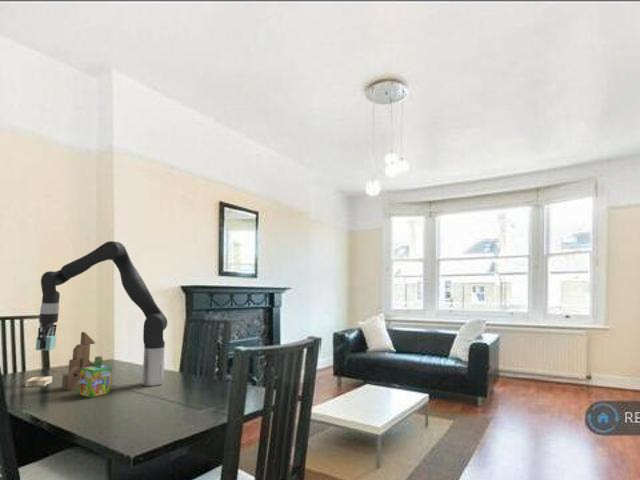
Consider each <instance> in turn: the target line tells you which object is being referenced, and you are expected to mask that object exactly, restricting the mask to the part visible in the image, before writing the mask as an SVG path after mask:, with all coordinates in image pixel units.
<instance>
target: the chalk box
mask: <svg viewBox="0 0 640 480" xmlns="http://www.w3.org/2000/svg"><path fill="white" fill-rule="evenodd" d="M97 362H99V365H97ZM93 364H94V366H90V367H83V368H81V373H80V380H79V382H78V396H83V397H86V398H89V399H91V398H96V397H100V396H103V395H108V394H110V393H111V384H112V383H111V380H112V373H113V372H112V371H113V370H112V369H113V368H112V367H111V366H108V365H106V364H105V365H103V359H102V360H101V359H96V360H95V359H94V363H93ZM101 364H102V365H101Z"/></svg>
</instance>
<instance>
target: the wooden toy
mask: <svg viewBox="0 0 640 480" xmlns="http://www.w3.org/2000/svg"><path fill="white" fill-rule="evenodd" d="M79 342H80V343H79V344H77V345H75V347H74V348H73V350H72V359H69V360H68V363H69V364H68V372H67V373H66V374H63V375H62V382H61V390H65V391H76V390H79V383H80V373H81V368H83V367H90V366H94V363H92V362H91V360H90V354H91V353H90V352H91V351H90V350H91V345H95V344H96V341H94V340H93V339H92V338H91V336H90V335H88V334H87V333H86V331H81V333H80V341H79ZM96 359H101V360H103V356H102V355H101V356H95V357H94V361H95V360H96ZM97 365H99V362H97ZM101 365H103V363H102V364H101Z"/></svg>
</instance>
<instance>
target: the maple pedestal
mask: <svg viewBox="0 0 640 480" xmlns="http://www.w3.org/2000/svg"><path fill="white" fill-rule="evenodd" d="M52 382H53V376H51V375H50V376H34V377H33V376H32V377H31V378H29V379H27V380H25V387H27V388H28V386H34V387H46V386H47V384H48V385H50V384H51V383H52Z"/></svg>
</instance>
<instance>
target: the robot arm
mask: <svg viewBox="0 0 640 480" xmlns="http://www.w3.org/2000/svg"><path fill="white" fill-rule="evenodd" d="M104 261H112V262H113V263H114V264H115V266H116V268H117V269H118V272H119V274H120V279H121V284H122V287H123V289H124V290H125V292H126V295H127V296H128V297H129V299H130V300H131V301H132V302H133V303H134V305H136V306H137V307H138V308H139V309H140V310H141V311H142V313H143V315H144V316H145V319H144V322H143V331H142V333H143V334H142V335H143V345H144V346H143V348H144V349H143V363H142V366H143V367H142V379H141V380H142V381H141V382H142V383H141V384H142V386H147V387H151V386H160V385H163V383H164V378H165V346H166V344H165V340H164V330H166V329H167V327H168V319H167V316H165V314H164V313H163V312H162V310H161V309H160V308H159V307H158V305H157V303H156V302H155V300H154V297H153V295H152V294H151V292H150V290H149V288H148V287H147V285H146V283H145V281H144V280H143V278H142V276H141V275H140V273H139V272H138V270H137V268H136V267H135V266H134V264H133V262H132V259H131V258H130V256H129V253H128V251H127V249H126V247H125V245H124V244H123V243H121V242H119V241H115V240H113V241H112V240H111V241H106V242H104V243H103V244H101V245H100V246H98V247H97V248H95V249H94V250H92V251H91V252H89V253H87V254H85V255H84V256H81V257H80V258H77V259H75V260H73V261H71V262H68V263H67V264H64V265H62V267H61V268H60V269H59V270H57V271H54V270H53V271H45V272H44V273H43V274H42V275H41V278H40V287H41V292H42V297H41V298H42V299H41V306H40V308H39V309H40V310H39V320H38V322H39V323H40V324H42V325H41V327H38V329H37V330H38V331H37V332H38V333H37V337H38V340H40V349H45V347H46V339H47V337H48V336H56V331H57V328H58V327H57V326H58V325H57V324H56V323H58V320H59V313H60V299H61V298H60V294H61V293H60V292H59V291H58V290H57V286H61V285H64V284H65V283H67V282H68V281H70V280H71V279H72V278H75V277H76V276H79V275H80V274H83V273H85V272H86V271H88V270H89V269H90V268H92V267H93V266H95V265H97V264H99V263H103V262H104ZM40 336H41V337H40Z"/></svg>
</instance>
